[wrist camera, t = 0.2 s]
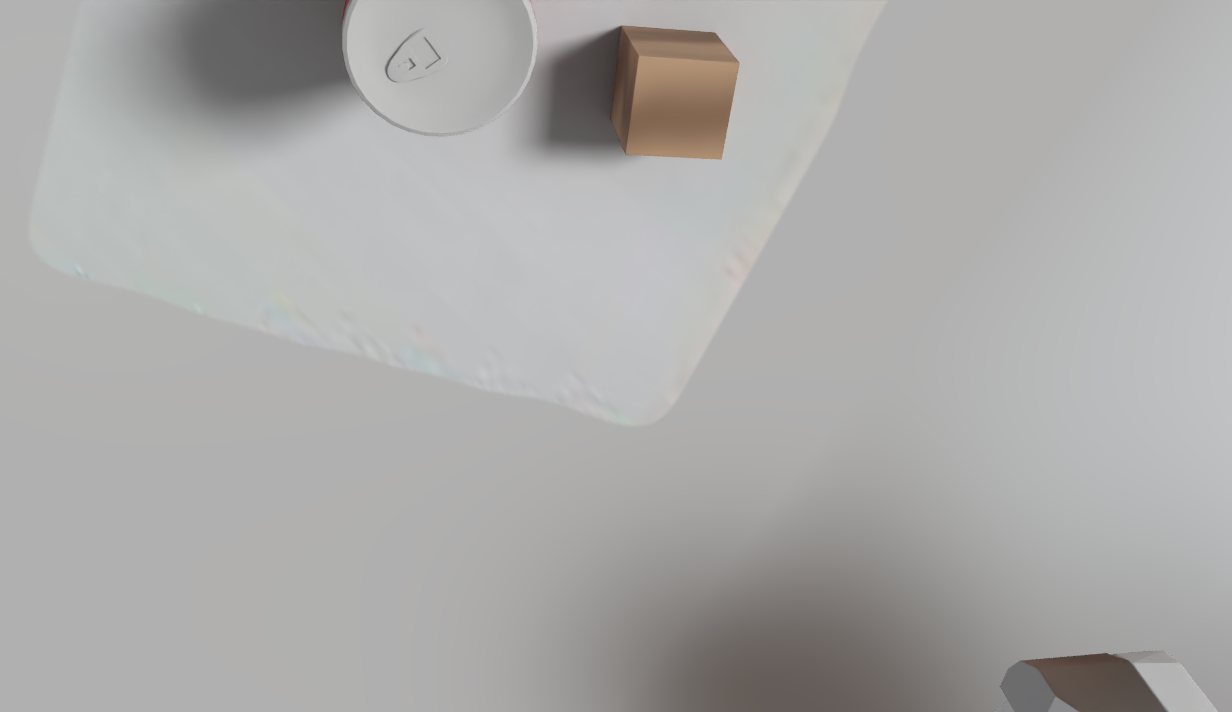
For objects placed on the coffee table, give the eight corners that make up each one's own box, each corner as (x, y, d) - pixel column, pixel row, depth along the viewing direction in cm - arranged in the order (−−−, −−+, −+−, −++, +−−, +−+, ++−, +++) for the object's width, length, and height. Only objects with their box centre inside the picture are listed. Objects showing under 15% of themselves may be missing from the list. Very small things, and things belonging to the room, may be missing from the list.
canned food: (319, -12, 50) (300, 61, 41) (422, -148, 48) (425, -102, 39) (446, 88, 54) (454, 174, 45) (547, -34, 52) (578, 32, 43)
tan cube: (621, 25, 54) (638, 55, 50) (714, 32, 55) (739, 62, 51) (609, 118, 57) (625, 154, 52) (698, 123, 58) (721, 159, 54)
